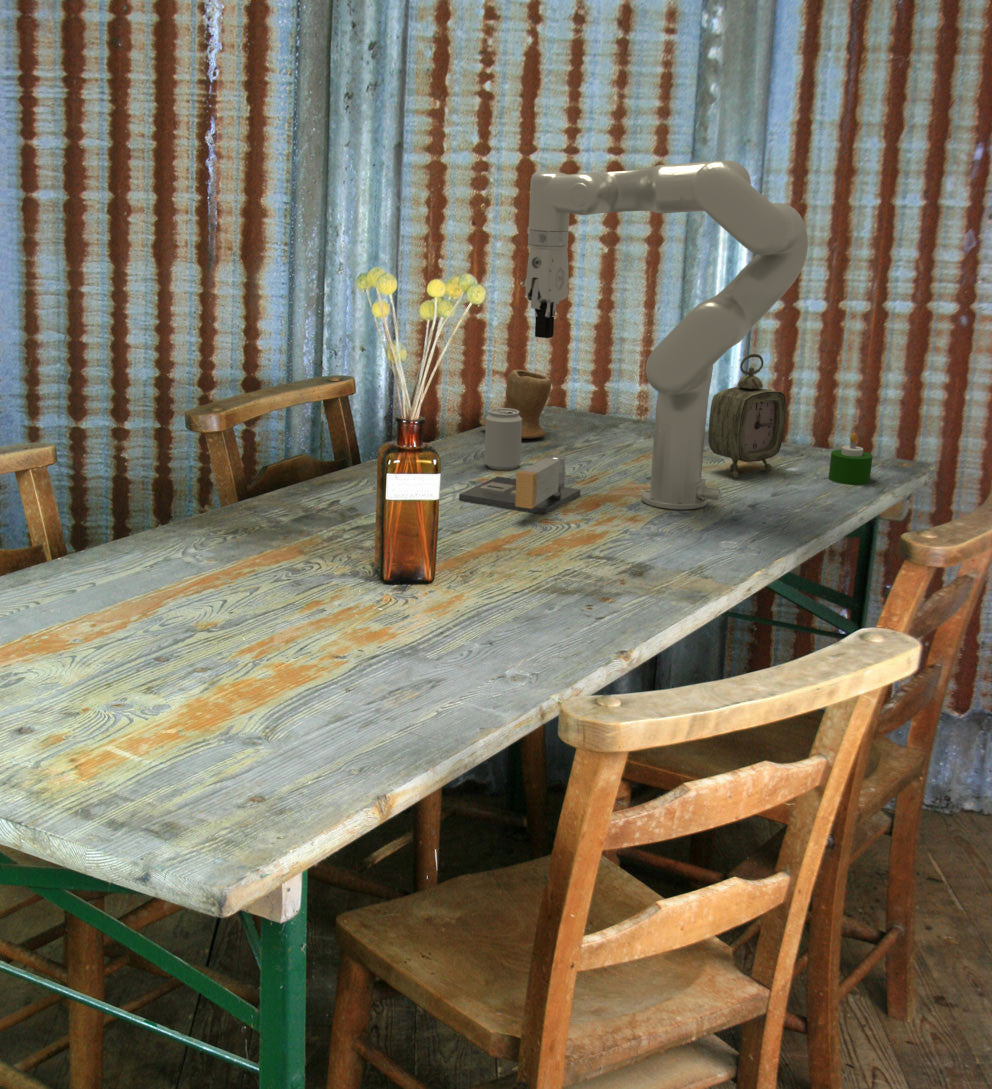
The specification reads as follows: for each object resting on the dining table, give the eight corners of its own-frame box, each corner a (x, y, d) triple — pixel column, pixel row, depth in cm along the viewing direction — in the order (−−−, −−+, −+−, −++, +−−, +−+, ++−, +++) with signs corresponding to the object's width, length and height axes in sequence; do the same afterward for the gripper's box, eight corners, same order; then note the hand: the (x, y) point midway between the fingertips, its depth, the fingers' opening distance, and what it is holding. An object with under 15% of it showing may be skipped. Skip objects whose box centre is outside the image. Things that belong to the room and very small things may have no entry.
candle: (835, 473, 281) (840, 426, 278) (874, 479, 277) (880, 432, 274) (823, 480, 274) (828, 433, 272) (862, 487, 270) (868, 439, 268)
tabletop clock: (734, 481, 271) (745, 359, 264) (701, 472, 278) (711, 353, 270) (780, 472, 280) (791, 354, 273) (746, 463, 287) (757, 347, 279)
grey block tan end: (549, 485, 252) (550, 453, 251) (566, 487, 251) (568, 455, 249) (514, 506, 238) (515, 472, 236) (532, 508, 236) (534, 475, 234)
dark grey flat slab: (580, 495, 257) (581, 481, 256) (545, 514, 243) (546, 500, 243) (497, 482, 265) (497, 468, 264) (459, 500, 251) (459, 485, 250)
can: (520, 471, 273) (522, 414, 270) (483, 470, 274) (485, 413, 270) (520, 463, 281) (522, 407, 277) (484, 461, 281) (486, 405, 277)
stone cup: (558, 439, 304) (562, 374, 299) (516, 444, 297) (518, 377, 293) (520, 426, 316) (523, 363, 311) (478, 431, 309) (480, 367, 305)
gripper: (549, 243, 243) (545, 344, 248) (582, 239, 256) (577, 334, 261) (512, 241, 246) (509, 340, 252) (546, 236, 259) (542, 331, 264)
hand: (544, 337), depth 256 cm, fingers closed
